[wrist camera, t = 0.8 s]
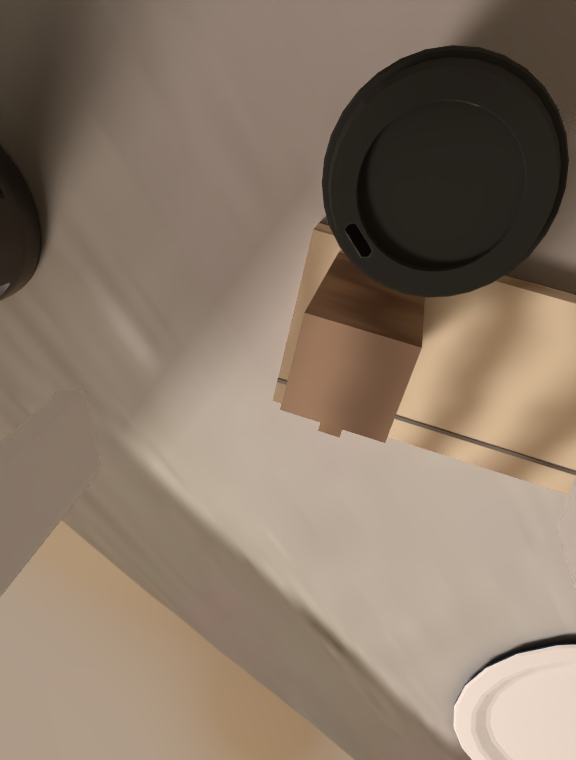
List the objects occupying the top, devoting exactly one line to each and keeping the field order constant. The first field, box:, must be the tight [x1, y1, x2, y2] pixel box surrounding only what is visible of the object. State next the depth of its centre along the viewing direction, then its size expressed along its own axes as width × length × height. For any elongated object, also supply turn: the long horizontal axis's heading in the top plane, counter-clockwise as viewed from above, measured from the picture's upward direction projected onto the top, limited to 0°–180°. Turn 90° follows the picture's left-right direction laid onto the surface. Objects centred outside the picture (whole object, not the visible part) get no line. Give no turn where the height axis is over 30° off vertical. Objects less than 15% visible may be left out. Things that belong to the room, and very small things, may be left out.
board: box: [273, 223, 576, 494], centre depth 39 cm, size 26×14×2 cm, turn 78°
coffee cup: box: [322, 45, 569, 297], centre depth 27 cm, size 10×10×15 cm
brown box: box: [280, 252, 425, 443], centre depth 34 cm, size 6×12×11 cm, turn 168°
